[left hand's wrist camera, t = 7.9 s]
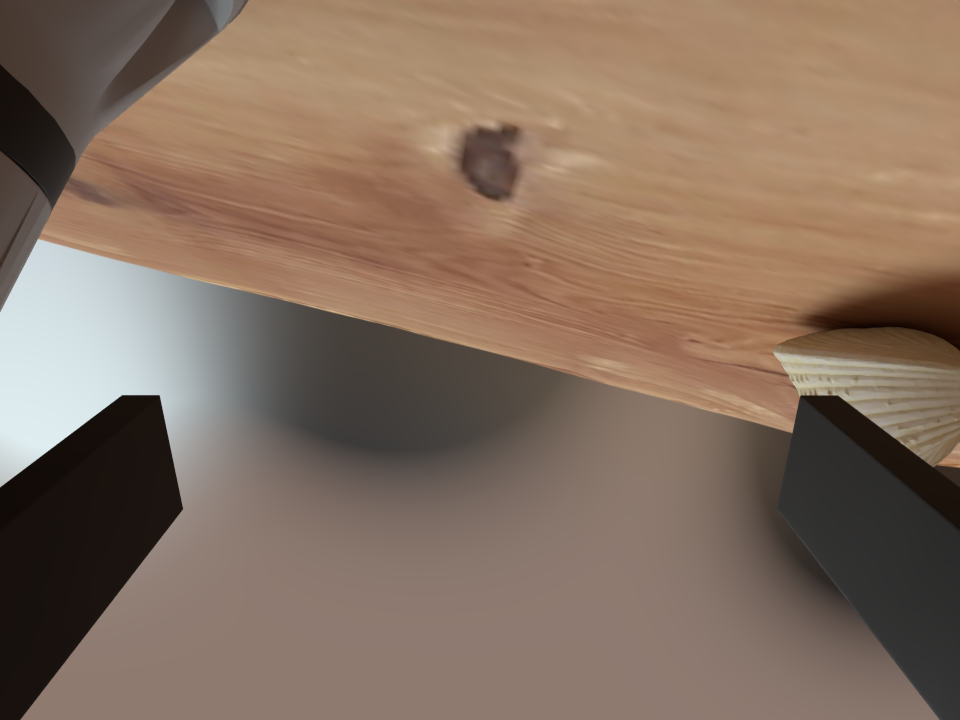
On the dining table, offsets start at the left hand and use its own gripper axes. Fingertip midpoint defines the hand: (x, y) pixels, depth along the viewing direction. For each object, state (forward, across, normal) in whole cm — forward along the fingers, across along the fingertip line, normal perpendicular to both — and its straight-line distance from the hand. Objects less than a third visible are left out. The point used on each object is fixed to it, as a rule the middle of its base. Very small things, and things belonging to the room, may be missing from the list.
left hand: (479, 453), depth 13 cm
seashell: (+16, +20, -2) cm, 26 cm away
